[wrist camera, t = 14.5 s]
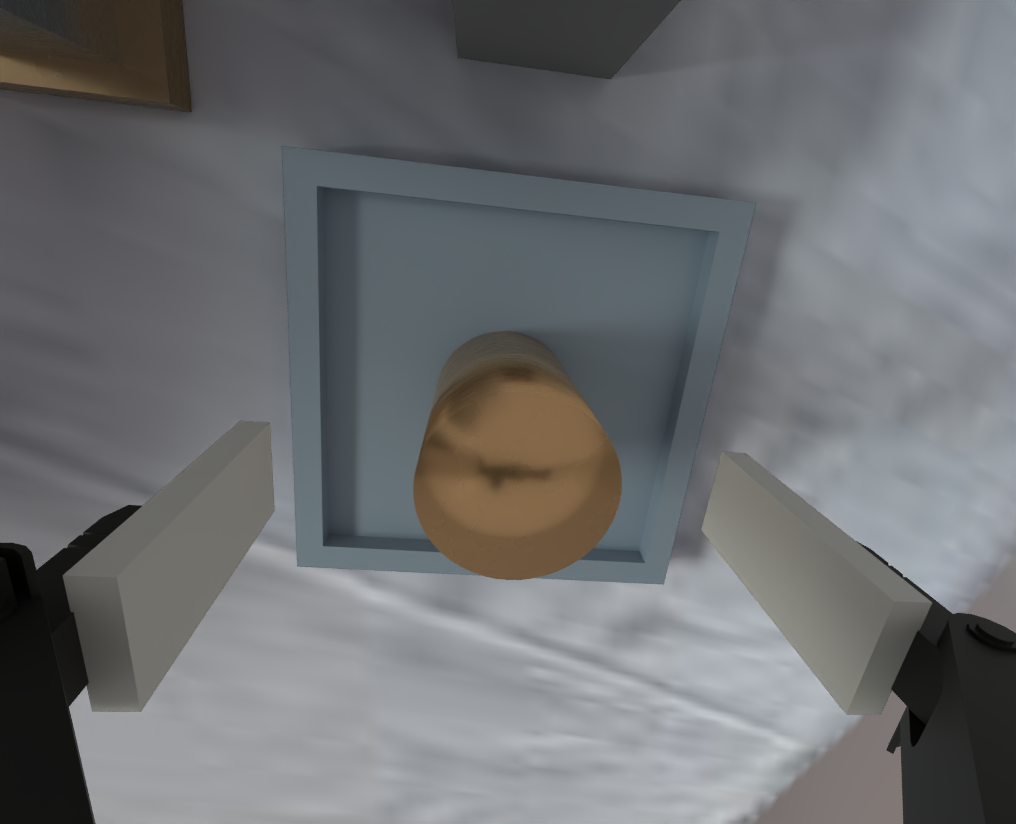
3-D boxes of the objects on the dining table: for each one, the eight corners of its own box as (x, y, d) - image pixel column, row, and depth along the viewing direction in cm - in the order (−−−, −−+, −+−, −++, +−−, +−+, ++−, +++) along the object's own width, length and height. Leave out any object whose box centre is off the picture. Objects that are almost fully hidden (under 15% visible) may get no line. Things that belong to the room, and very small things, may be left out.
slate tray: (651, 560, 28) (663, 584, 26) (309, 542, 26) (297, 566, 24) (731, 205, 22) (756, 202, 20) (299, 153, 20) (281, 145, 19)
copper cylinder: (559, 461, 24) (603, 584, 16) (432, 452, 24) (408, 574, 15) (577, 337, 23) (639, 402, 14) (440, 324, 22) (418, 384, 14)
